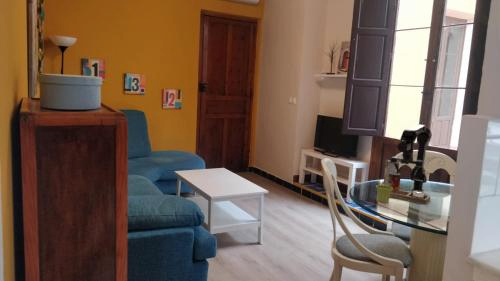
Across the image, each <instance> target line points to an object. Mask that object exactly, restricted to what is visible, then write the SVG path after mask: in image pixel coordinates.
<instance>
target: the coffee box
mask: <svg viewBox="0 0 500 281" xmlns="http://www.w3.org/2000/svg"><path fill="white" fill-rule="evenodd" d="M392 163H393V162H390V159H385V165H384V174H383V183H384V185H386V186H388V180H389V173H390V172H397V171H396V167H395V165H394V164H392Z"/></svg>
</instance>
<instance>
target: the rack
mask: <svg viewBox="0 0 500 281" xmlns="http://www.w3.org/2000/svg"><path fill="white" fill-rule="evenodd" d="M412 194H413V191H412V192H411V191H405V190H402V189H401V190H400V189H399V190H396V189H392V191H391V194H390V198H394V199H398V200H399V199H400V200H403V201H408V202H414V203H418V204H423V205H426V204H427V203H428V202H430V200H431V195H427V194H424V199H421V198H416V197H412Z"/></svg>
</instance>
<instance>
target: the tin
mask: <svg viewBox="0 0 500 281" xmlns="http://www.w3.org/2000/svg"><path fill="white" fill-rule="evenodd" d="M412 193H413V194H412V197H416V198H421V199H424V195H425V192H424V191H413V190H412Z"/></svg>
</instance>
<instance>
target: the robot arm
mask: <svg viewBox="0 0 500 281" xmlns="http://www.w3.org/2000/svg"><path fill="white" fill-rule="evenodd" d="M432 136H433V135H432V131H431V130H430V129H429V128H428V127H427V125H425V124H417V125H416V126H414V127H413V128H404V130H403V131H402V134H401V137H400V139H399V140H400V142H399V143H398V144H397V150H398V151H399V152H401V153H402V154H401V156H400V157H399V156H392V157H391V158H390V159H389V160H390V162H393V163H392V164H394V165H395V167H396V172H397V174H398V173H400V164H403V165H404V164H405V165H409V164H410V165H411V164H413V165H414V167H413V168H412V170H411V173H410V181H413V186H412V189H411V191H412V192H413V191H422V192H424V189H423V186H424V184H427V181H428V179H427V174H426V170H425V167H424V166H425V158H426V151H427V145H428V144H429V143H430V141H431V139H432ZM416 140H417V143H418V149H417V154H416V160H414V146H415V142H416Z"/></svg>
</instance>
